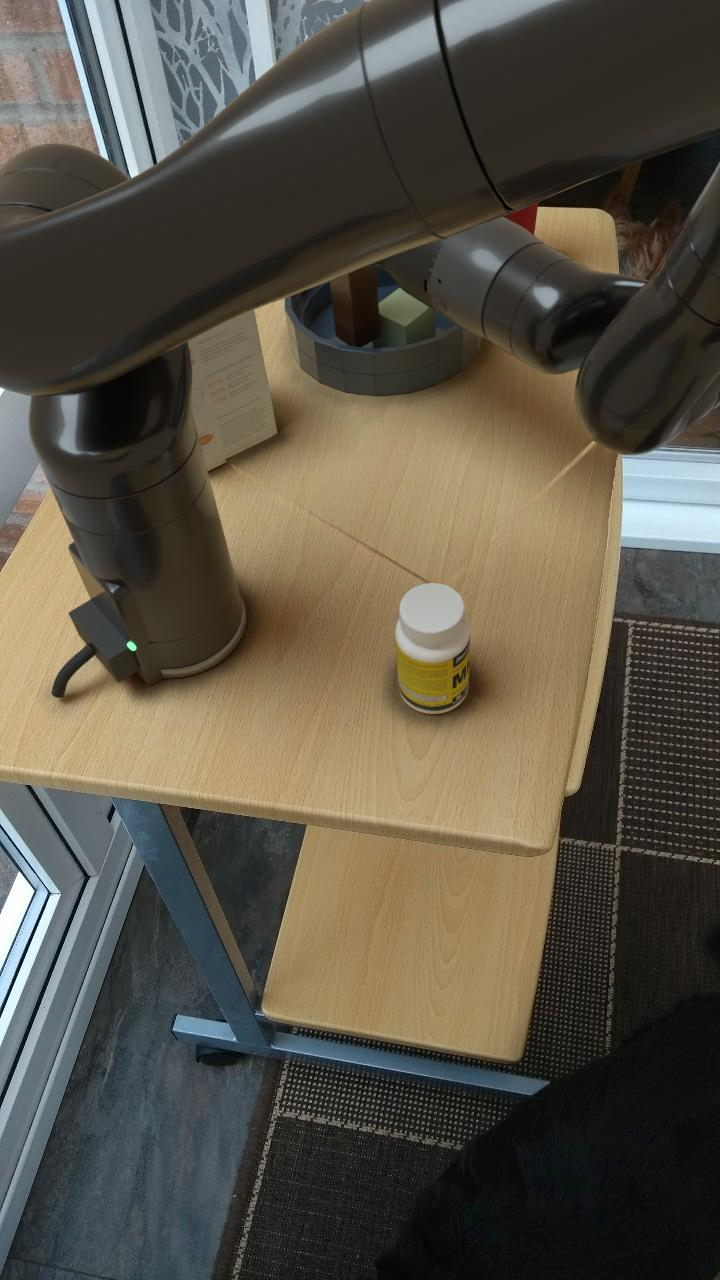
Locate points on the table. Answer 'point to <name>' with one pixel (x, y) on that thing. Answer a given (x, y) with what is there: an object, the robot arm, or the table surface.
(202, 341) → the small box
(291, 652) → the table surface
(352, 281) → the stick
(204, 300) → the robot arm
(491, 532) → the table surface
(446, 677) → the supplement bottle
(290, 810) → the table surface
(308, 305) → the bowl
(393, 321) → the block
